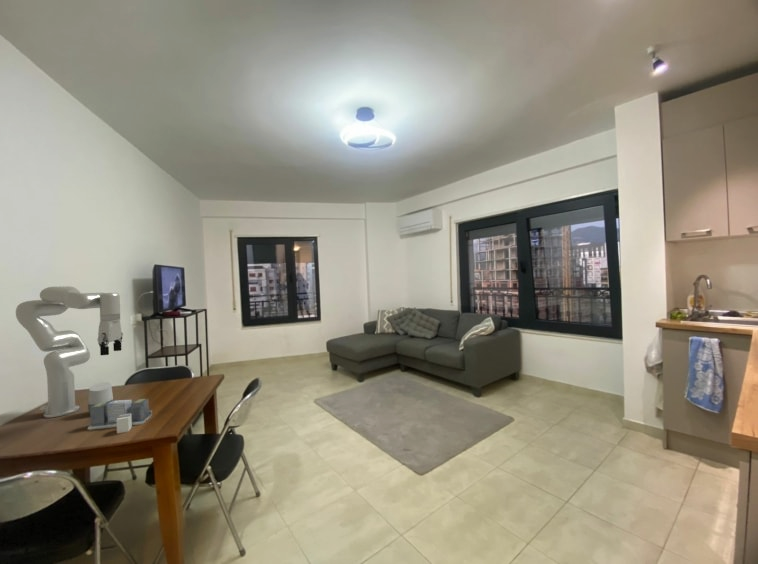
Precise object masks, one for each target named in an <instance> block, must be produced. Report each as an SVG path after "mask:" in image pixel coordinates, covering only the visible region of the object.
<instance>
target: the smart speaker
mask: <svg viewBox="0 0 758 564" xmlns="http://www.w3.org/2000/svg"><path fill="white" fill-rule="evenodd" d="M112 386H113V385H112V383H111V382H108V381H105V382H104V381H103V382H99V383H94V385H91V386H90V387H89V389H88V399H87V400H88V401H87V402H88V403H87V410H88V412H89V414H90V407H92V406H93V405H95V404H99V403H104V402H106V403H111V402H113V401H114V395H113V388H112Z"/></svg>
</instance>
